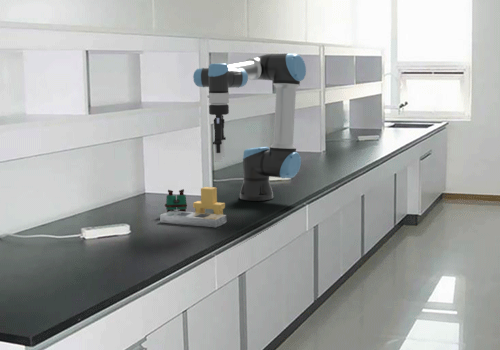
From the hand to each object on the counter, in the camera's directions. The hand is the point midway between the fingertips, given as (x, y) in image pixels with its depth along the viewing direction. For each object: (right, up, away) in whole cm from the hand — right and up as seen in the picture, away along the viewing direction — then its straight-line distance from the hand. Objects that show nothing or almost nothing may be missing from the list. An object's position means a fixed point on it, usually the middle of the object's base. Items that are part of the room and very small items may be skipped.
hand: (219, 159), depth 278 cm
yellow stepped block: (-4, -23, +7) cm, 25 cm away
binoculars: (-18, -22, +15) cm, 33 cm away
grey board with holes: (-10, -25, -1) cm, 27 cm away
